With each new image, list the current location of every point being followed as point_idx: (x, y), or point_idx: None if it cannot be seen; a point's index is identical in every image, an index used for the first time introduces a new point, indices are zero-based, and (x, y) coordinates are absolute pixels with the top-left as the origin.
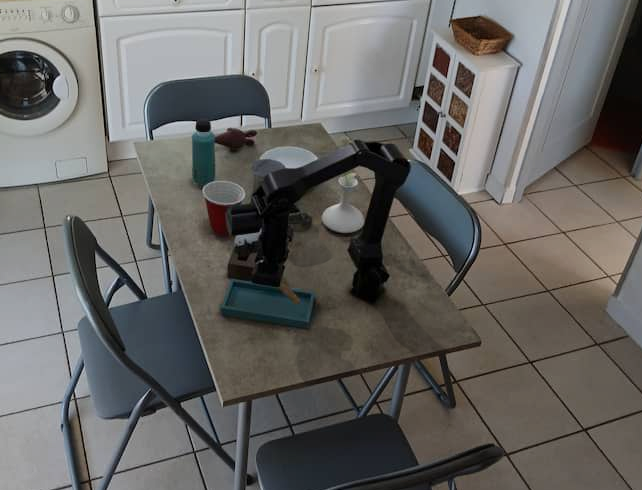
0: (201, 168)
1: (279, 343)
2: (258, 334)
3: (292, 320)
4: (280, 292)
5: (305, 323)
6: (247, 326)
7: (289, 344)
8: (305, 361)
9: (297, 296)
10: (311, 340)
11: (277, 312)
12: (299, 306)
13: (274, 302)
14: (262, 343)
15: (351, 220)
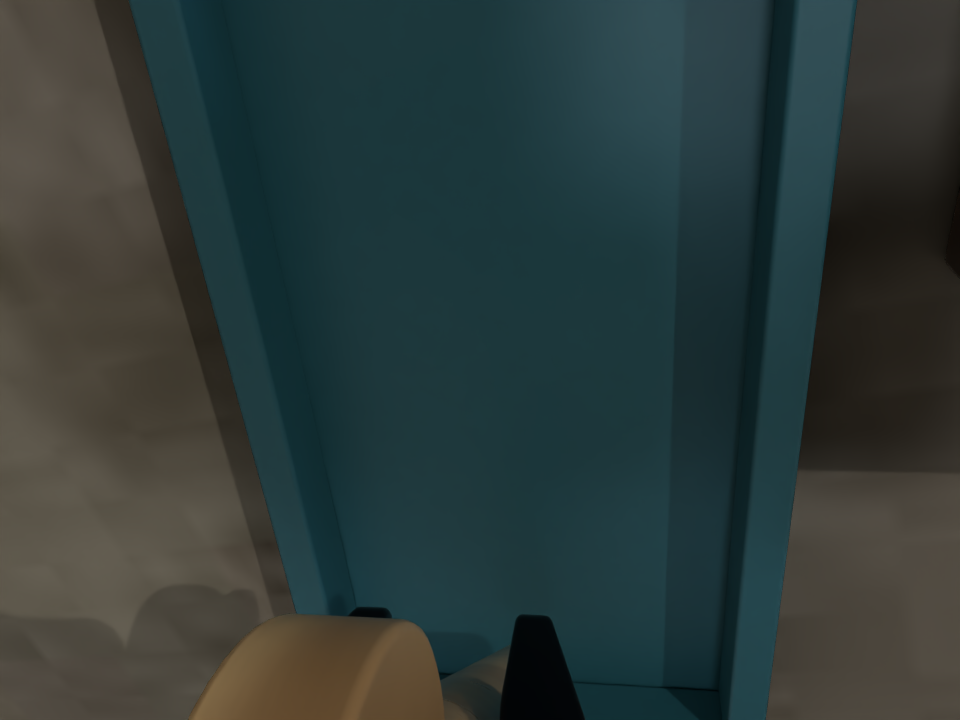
0: None
1: (90, 499)
2: (83, 316)
3: None
4: (741, 446)
5: None
6: (123, 180)
7: (124, 566)
8: (38, 667)
9: (724, 590)
10: None
11: (419, 451)
12: (575, 616)
13: (566, 399)
14: (5, 372)
15: None
